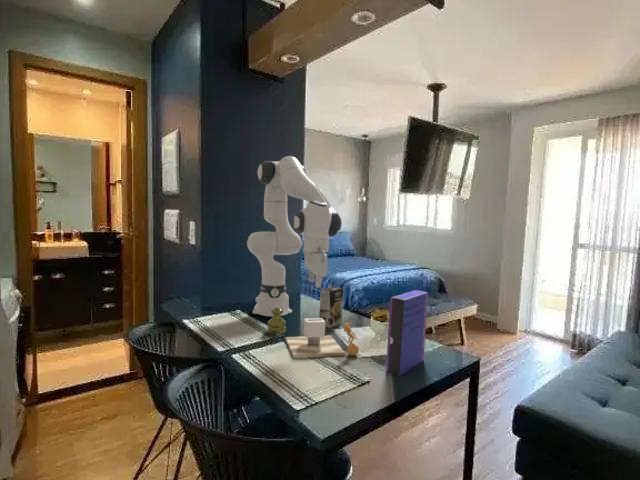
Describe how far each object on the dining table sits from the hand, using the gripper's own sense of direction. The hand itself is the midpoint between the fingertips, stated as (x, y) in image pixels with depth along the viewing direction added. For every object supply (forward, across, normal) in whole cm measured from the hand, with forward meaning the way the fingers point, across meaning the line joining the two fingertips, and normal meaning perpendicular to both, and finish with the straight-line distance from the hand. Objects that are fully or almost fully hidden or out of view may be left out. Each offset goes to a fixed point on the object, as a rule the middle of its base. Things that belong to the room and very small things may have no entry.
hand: (314, 284), depth 138 cm
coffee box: (+24, +26, -15) cm, 38 cm away
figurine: (+23, -10, -12) cm, 28 cm away
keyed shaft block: (+23, -1, 0) cm, 23 cm away
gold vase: (+24, +18, +10) cm, 32 cm away
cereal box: (+23, -21, -27) cm, 41 cm away
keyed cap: (+18, -1, 0) cm, 19 cm away
